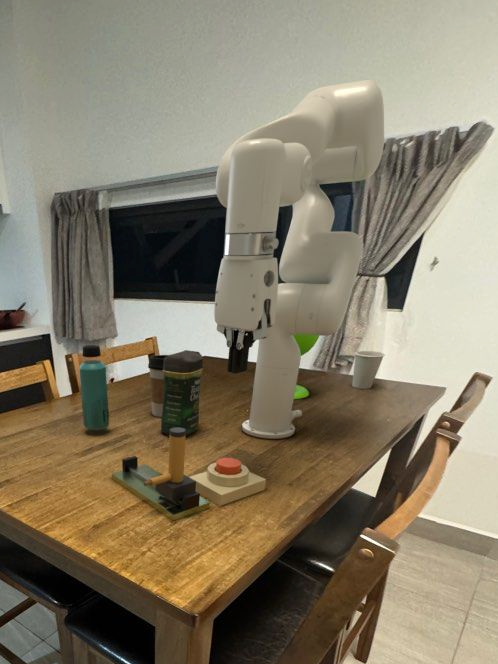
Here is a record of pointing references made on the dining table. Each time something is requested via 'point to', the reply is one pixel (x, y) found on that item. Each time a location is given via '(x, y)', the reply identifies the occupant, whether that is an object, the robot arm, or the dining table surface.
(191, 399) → the coffee jar
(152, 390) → the coffee cup
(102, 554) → the dining table surface
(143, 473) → the rail
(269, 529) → the dining table surface
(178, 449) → the nozzle
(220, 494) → the button box
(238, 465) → the button
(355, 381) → the dixie cup
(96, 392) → the beverage bottle
